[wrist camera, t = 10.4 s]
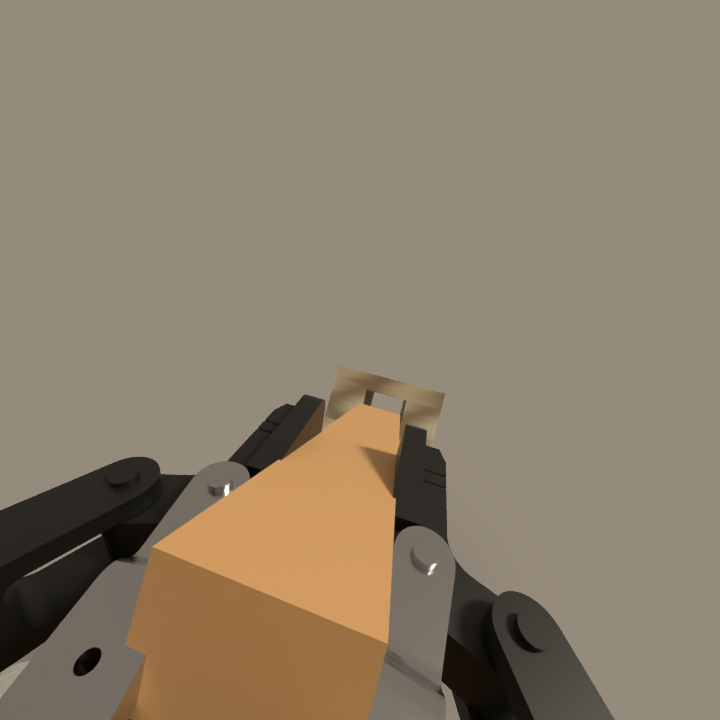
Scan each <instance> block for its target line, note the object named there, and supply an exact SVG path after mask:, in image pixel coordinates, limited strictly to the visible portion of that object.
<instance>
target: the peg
mask: <svg viewBox="0 0 720 720" xmlns="http://www.w3.org/2000/svg"><path fill="white" fill-rule="evenodd" d="M399 431H400V415H399V414H396V413H392V412H389V411H385V410H382V409H378V408H374V407H371V406H368V405H364V404H361V403H360V404H359V405H357V406H356V407H354V408H353V409H352V410H350V411H349V412H347V413H346V414H344V415H343V416H341V417H340V418H338V419H337V420H336V421H334V422H333V423H331V424H330V425H328V426H327V427H325V428H324V429H322V432H321V433H319V434H318V435H316V436H315V437H314V438H312V439H311V440H309V441H308V442H307V443H305V444H304V445H302V446H301V447H299V448H298V449H297V450H295V451H294V452H292V453H291V454H290V455H288V456H287V457H285V458H284V459H283V460H277V461H276V462H274V463H273V464H271V465H270V466H269V467H267V468H266V469H264V470H263V471H261V472H260V473H258V474H257V475H255V476H254V477H253V478H251V479H250V480H248V481H247V482H245V483H244V484H242V485H241V486H239V487H238V488H237V489H235V490H234V491H232V492H231V493H229V494H228V495H226V496H225V497H223V498H222V499H220V500H219V501H218V502H216V503H215V504H213V505H212V506H210V507H209V508H207V509H206V510H204V511H203V512H202V513H200V514H199V515H197V516H196V517H194V518H193V519H191V520H190V521H188V522H187V523H186V524H184V525H183V526H181V527H180V528H178V529H177V530H175V531H174V532H172V533H171V534H170V535H168V536H167V537H165V538H164V539H162V540H161V541H159V542H158V543H156V544H155V545H154V546H152V548H151V552H150V556H149V559H148V563H147V567H146V570H145V574H144V578H143V581H142V585H141V589H140V593H139V596H138V600H137V604H136V607H135V611H134V615H133V618H132V622H131V626H130V629H129V633H128V637H127V640H126V644H125V645H126V646H129V647H131V648H133V649H135V650H137V651H139V652H141V653H143V654H145V655H146V660H145V665H144V670H143V675H142V680H141V685H140V691H139V696H138V701H137V704H136V705H135V707H134V709H133V711H132V713H131V715H130V717H129V719H131V720H368V718H369V715H370V711H371V707H372V703H373V699H374V695H375V692H376V688H377V684H378V680H379V676H380V672H381V669H382V665H383V661H384V657H385V653H386V649H387V646H388V634H389V615H390V597H391V578H392V560H393V541H394V523H395V504H396V498H393V490H394V478H395V465H396V454H397V451H398V447H399Z"/></svg>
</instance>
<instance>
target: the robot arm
mask: <svg viewBox="0 0 720 720" xmlns="http://www.w3.org/2000/svg"><path fill="white" fill-rule="evenodd" d="M324 410H325V400H323V399H319V398H316V397H313V396H309V395H303V397H302V398H301V399H300V400H299V401H298V403H297V404H296V405H295V406H293V405H289V404H285V405H283V406H281V407H279V408H278V409H275V410H274V411H273V412H272V413H271V414H270V415H269V416H268V417H267V419H266V420H265V422H263V423H262V424H261V425H260V426H259V427H258V430H256V431H255V432H254V433H253V434H252V435H251V436H250V437H249V438H248V439H247V440H246V441H245V443H244V444H243V445H242V446H241V447H240V448H239V449H238V450H237V451H236V452H235V453H234V454H233V456H232V457H231V458H230V459H229V460H228V461H224V462H218V463H214V464H211V465H209V466H207V467H205V468H204V469H202V470H201V471H199V472H198V473H197V474H196V475H165V474H161V473H160V468H159V465H158V463H157V462H156V461H154V460H153V459H150V458H147V457H131V458H126V459H123V460H119V461H117V462H114V463H112V464H110V465H107V466H105V467H102V468H100V469H98V470H95V471H93V472H91V473H88V474H86V475H84V476H81V477H79V478H76V479H74V480H72V481H69V482H67V483H64V484H62V485H60V486H57V487H55V488H53V489H50V490H48V491H46V492H43V493H41V494H38V495H37V496H34V497H32V498H29V499H27V500H24V501H22V502H19V503H17V504H15V505H12V506H10V507H8V508H5V509H3V510H0V673H1V672H2V671H4V670H5V669H6V668H8V667H9V666H11V665H12V664H14V663H15V662H17V661H18V660H19V659H21V658H22V657H24V656H25V655H27V654H28V653H30V652H31V651H32V650H34V649H35V648H37V647H38V646H40V645H41V644H42V643H44V642H45V641H46V642H45V643H44V644H43V646H42V647H41V648H40V649H39V650H38V652H37V653H36V654H35V655H34V657H33V658H32V659H31V661H30V662H29V663H28V664H27V665H26V667H25V668H24V669H23V670H22V672H21V673H20V674H19V675H18V677H17V678H16V679H15V680H14V682H13V683H12V684H11V685H10V687H9V688H8V689H7V690H6V691H5V693H4V694H3V695H2V696H1V698H0V720H131V719H129V717H130V715H131V713H132V711H133V709H134V707H135V705H136V704H137V701H138V696H139V691H140V685H141V680H142V675H143V670H144V665H145V660H146V655H145V654H143V653H141V652H139V651H137V650H135V649H133V648H131V647H129V646H126V645H125V644H126V640H127V637H128V633H129V629H130V626H131V622H132V618H133V615H134V611H135V607H136V604H137V600H138V596H139V593H140V589H141V585H142V581H143V578H144V574H145V570H146V567H147V563H148V559H149V556H150V552H151V548H152V546H154V545H155V544H156V543H158V542H159V541H161V540H162V539H164V538H165V537H167V536H168V535H170V534H171V533H172V532H174V531H175V530H177V529H178V528H180V527H181V526H183V525H184V524H186V523H187V522H188V521H190V520H191V519H193V518H194V517H196V516H197V515H199V514H200V513H202V512H203V511H204V510H206V509H207V508H209V507H210V506H212V505H213V504H215V503H216V502H218V501H219V500H220V499H222V498H223V497H225V496H226V495H228V494H229V493H231V492H232V491H234V490H235V489H237V488H238V487H239V486H241V485H242V484H244V483H245V482H247V481H248V480H250V479H251V478H253V477H254V476H255V475H257V474H258V473H260V472H261V471H263V470H264V469H266V468H267V467H269V466H270V465H271V464H273V463H274V462H276V461H277V460H283V459H284V458H285V457H287V456H288V455H290V454H291V453H292V452H294V451H295V450H297V449H298V448H299V447H301V446H302V445H304V444H305V443H307V442H308V441H309V440H311V439H312V438H314V437H315V436H316V435H318V434H319V433H321V432H322V425H323V418H324ZM426 437H427V430H425V429H422V428H419V427H415V426H412V425H408V424H405V427H404V430H403V434H402V437H401V441H400V444H399V447H398V451H397V454H396V465H395V478H394V490H393V498H396V504H395V523H394V541H393V560H392V578H391V597H390V615H389V634H388V646H387V649H386V653H385V657H384V661H383V665H382V669H381V672H380V676H379V680H378V684H377V688H376V692H375V695H374V699H373V703H372V707H371V711H370V715H369V718H368V720H445V714H446V706H445V697H444V694H443V693H442V689H441V681H442V682H443V683H444V684H446V685H447V686H448V687H449V688H450V689H451V690H452V693H453V697H454V700H455V703H456V706H457V710H458V713H459V717H460V720H614V718H613V716H612V715H611V713H610V711H609V710H608V708H607V706H606V705H605V703H604V701H603V700H602V698H601V696H600V695H599V693H598V691H597V690H596V688H595V686H594V685H593V683H592V681H591V680H590V678H589V676H588V675H587V673H586V671H585V670H584V668H583V666H582V665H581V663H580V661H579V660H578V658H577V656H576V655H575V653H574V651H573V650H572V648H571V646H570V645H569V643H568V641H567V640H566V638H565V636H564V635H563V633H562V631H561V630H560V628H559V627H558V625H557V623H556V622H555V621H554V619H553V618H552V617H551V616H550V614H549V613H548V612H547V611H546V610H545V609H544V608H543V607H542V606H541V605H540V604H538V603H537V602H536V601H534V600H533V599H532V598H530V597H528V596H526V595H524V594H522V593H519V592H514V591H507V592H503V593H502V594H500V595H499V596H497V595H495V594H494V593H493V592H492V591H490V590H489V589H487V588H486V587H485V586H483V585H482V584H480V583H479V582H478V581H476V580H475V579H474V578H472V577H471V576H469V575H468V574H467V573H466V572H465V571H464V570H463V569H462V568H461V566H460V565H459V564H458V562H457V561H456V560H455V558H454V556H453V554H452V551H451V549H450V548H449V544H448V540H447V514H446V513H447V511H446V479H445V477H446V462H445V460H444V459H443V456H442V455H441V452H440V450H439V449H436V448H432V447H429V446H426ZM99 534H101V535H102V536H101V537H99V538H97V539H96V540H94V541H92V542H90V543H88V544H87V545H85V546H83V547H81V548H80V549H78V550H76V551H74V552H72V553H71V554H69V555H67V556H65V557H63V558H62V559H60V560H58V561H56V562H54V563H53V564H51V565H49V566H47V567H46V568H44V569H42V570H40V571H38V572H36V573H34V574H32V575H29V576H25V575H26V574H28V573H30V572H32V571H34V570H35V569H37V568H39V567H41V566H43V565H44V564H46V563H48V562H50V561H52V560H54V559H55V558H57V557H59V556H61V555H63V554H64V553H66V552H68V551H70V550H72V549H73V548H75V547H77V546H79V545H81V544H83V543H84V542H86V541H88V540H90V539H92V538H93V537H95V536H97V535H99ZM23 576H25V577H23Z"/></svg>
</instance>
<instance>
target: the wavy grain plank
mask: <svg viewBox="0 0 720 720" xmlns="http://www.w3.org/2000/svg"><path fill="white" fill-rule="evenodd" d="M374 392H378V393H381V394H385V395H388V396H392V397H395V398H399V399H402V400H404V401H403V405H402V409H401V413H400V431H399V444H400V441H401V437H402V434H403V430H404V427H405V424H408V425H412V426H415V427H419V428H422V429H425V430H427V437H426V446H429V447H431V446H432V443H433V439H434V435H435V431H436V427H437V423H438V419H439V415H440V411H441V407H442V403H443V399H444V395H445V394H444V393H440V392H436V391H433V390H429V389H425V388H421V387H418V386H414V385H410V384H407V383H403V382H399V381H395V380H391V379H388V378H384V377H381V376H377V375H373V374H369V373H365V372H362V371H358V370H354V369H350V368H347V367H343V366H339V367H338V371H337V375H336V378H335V382H334V385H333V389H332V392H331V396H330V400H329V403H328V407H327V411H326V415H325V418H324V422H323V425H322V429H324V428H325V427H327V426H328V425H330V424H331V423H333V422H334V421H336V420H337V419H338V418H340V417H341V416H343V415H344V414H346V413H347V412H349V411H350V410H352V409H353V408H354V407H356V406H357V405H359V404H360V403H361V404H364V405H368V406H371V403H372V399H373V395H374Z"/></svg>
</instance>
